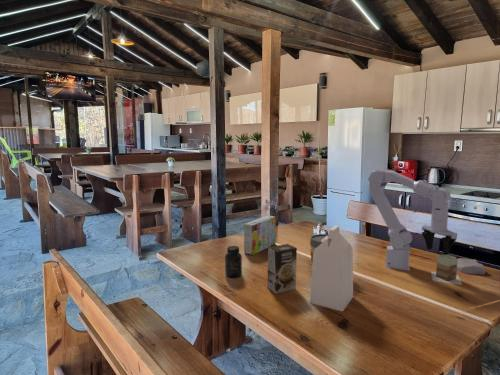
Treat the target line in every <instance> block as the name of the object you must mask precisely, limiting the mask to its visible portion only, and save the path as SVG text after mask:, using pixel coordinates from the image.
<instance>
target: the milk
mask: <svg viewBox="0 0 500 375" xmlns="http://www.w3.org/2000/svg"><path fill="white" fill-rule="evenodd" d="M328 234H329V235H328V236H326V237H324V238H323V239H322V240H321V241H322V244H320V245H319V246H318V247H317V248H316V249H315V250H314V252H313V262H312V264H311V265H312V268H311V284H310V296H309V297H310V298H309V303H310V304H313V305H317V306H320V307H325V308H328V309H332V310H337V311H340V312H344V310H346V307H347V306H348V305H349V303H350V302H351V300H352V299H353V298H354V268H353V267H354V263H353V262H354V257H353V256H354V254H353V253H354V252H353V251H354V250H353V247H352V244H350V242H349V241H348V240H347V239H346V238H345V237H344V236H343V235H342V234H341V233H340V226H338V225H334V226H333V227H332V228H330V229H329V231H328Z"/></svg>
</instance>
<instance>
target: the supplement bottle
mask: <svg viewBox="0 0 500 375" xmlns="http://www.w3.org/2000/svg"><path fill="white" fill-rule="evenodd" d="M226 249H227V250H226V252H227V253H226V254H225V255H224V268H225V270H224V272H225V273H224V275H225V276H226V278H228V279H239V278H241V277H242V274H243V267H242V266H243V260H242V259H243V258H242V254H241V253H240V247H239V246H238V245H229V246H227V248H226Z"/></svg>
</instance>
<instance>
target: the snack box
mask: <svg viewBox="0 0 500 375" xmlns="http://www.w3.org/2000/svg"><path fill="white" fill-rule="evenodd" d="M276 228H277V227H276V216H275V215H273V216H272V215H266V216H263V217H259V218H257V219H254V220H252V221H249V222H246V223H244V224H243V244H244V247H243V248H244V250H243V252H244V254H245V255H251V256H255V255H256V254H257V253H259V252H261V251H264V250H266V249H268V247H272V246H274V245H276V242H277V238H276V235H277V234H276V233H277V232H276Z"/></svg>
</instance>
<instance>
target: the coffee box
mask: <svg viewBox="0 0 500 375" xmlns="http://www.w3.org/2000/svg"><path fill="white" fill-rule="evenodd" d="M297 252H298V248H297V247H296V246H293V245H291V244H289V243H285V244H280V245H275V246H274V245H272V246H270V247H268V248H267V288H268V289H269V290H270V291H272V292H273V293H274V294H280V293H284V292H289V291H293V290H296V289H297V256H298V255H297Z"/></svg>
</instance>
